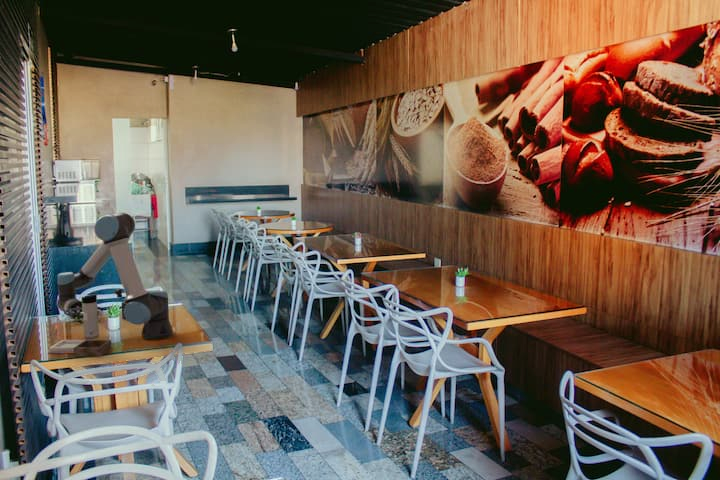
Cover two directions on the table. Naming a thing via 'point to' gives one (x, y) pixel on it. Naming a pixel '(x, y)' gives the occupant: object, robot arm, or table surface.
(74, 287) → the robot arm
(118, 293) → the pepper mill
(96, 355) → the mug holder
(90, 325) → the travel mug
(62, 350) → the tray
